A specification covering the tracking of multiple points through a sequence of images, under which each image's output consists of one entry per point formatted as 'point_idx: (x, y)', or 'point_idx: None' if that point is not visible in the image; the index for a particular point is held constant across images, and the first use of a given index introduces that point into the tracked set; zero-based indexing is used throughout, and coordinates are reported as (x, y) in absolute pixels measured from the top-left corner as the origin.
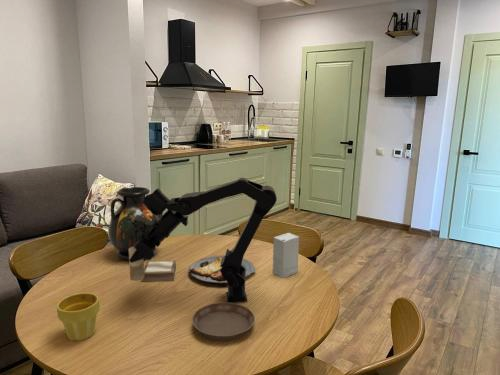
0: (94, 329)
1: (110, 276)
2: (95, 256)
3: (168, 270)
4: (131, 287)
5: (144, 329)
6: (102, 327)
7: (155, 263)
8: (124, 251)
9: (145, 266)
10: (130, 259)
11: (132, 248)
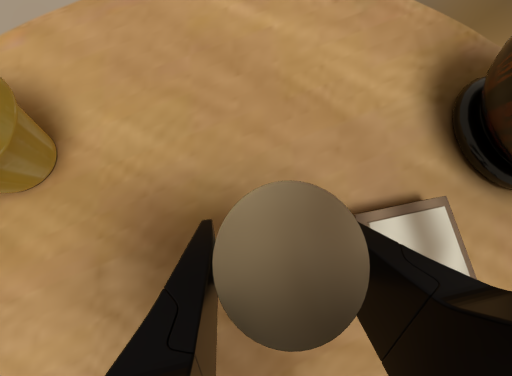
0: (6, 192)
1: (353, 112)
2: (450, 35)
3: None
4: None
5: (24, 351)
6: (51, 204)
7: (440, 235)
8: (482, 100)
9: (412, 205)
10: (196, 234)
11: (291, 219)
